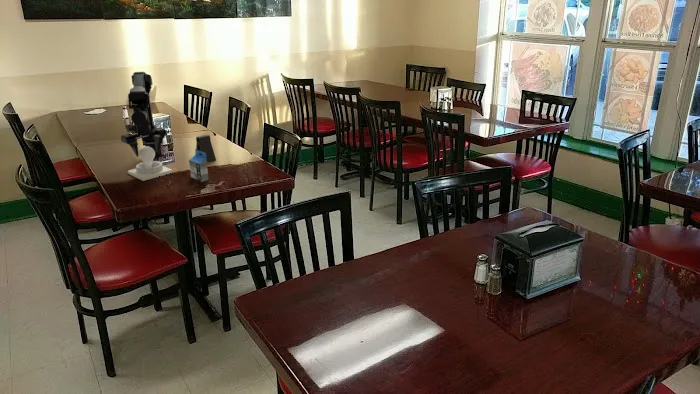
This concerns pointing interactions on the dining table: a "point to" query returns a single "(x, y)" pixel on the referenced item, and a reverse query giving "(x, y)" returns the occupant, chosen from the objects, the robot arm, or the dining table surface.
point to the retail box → (199, 166)
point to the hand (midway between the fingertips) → (147, 154)
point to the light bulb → (147, 156)
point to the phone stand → (205, 147)
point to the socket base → (149, 176)
